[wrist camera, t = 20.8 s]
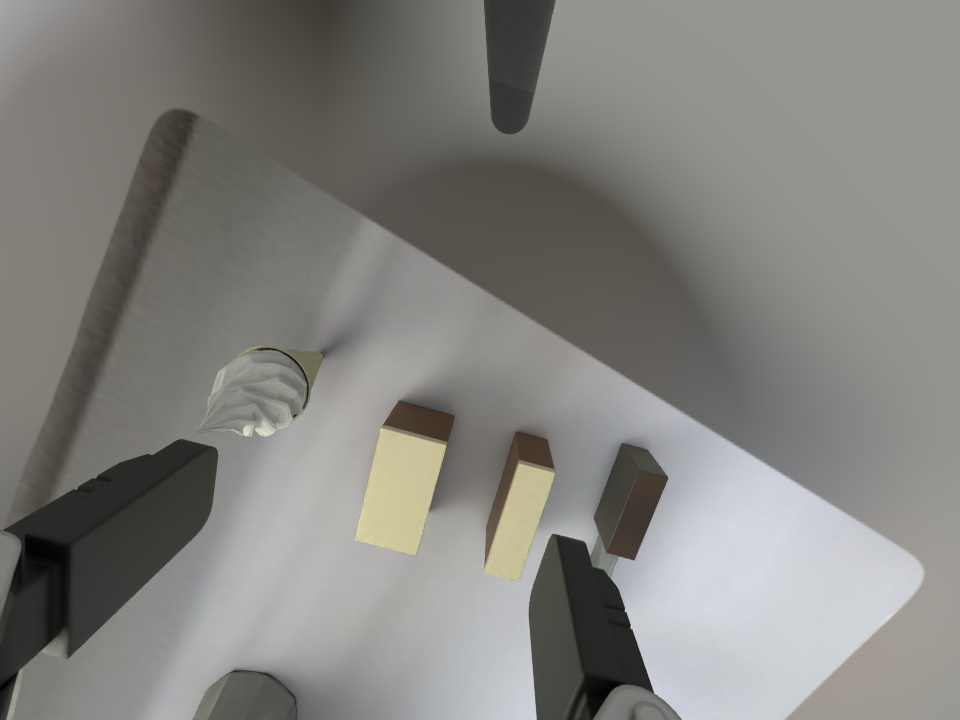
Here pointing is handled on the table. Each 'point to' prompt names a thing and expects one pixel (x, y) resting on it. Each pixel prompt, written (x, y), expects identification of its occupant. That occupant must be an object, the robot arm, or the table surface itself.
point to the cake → (404, 477)
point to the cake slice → (518, 506)
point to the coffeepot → (246, 699)
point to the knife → (627, 506)
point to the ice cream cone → (261, 391)
